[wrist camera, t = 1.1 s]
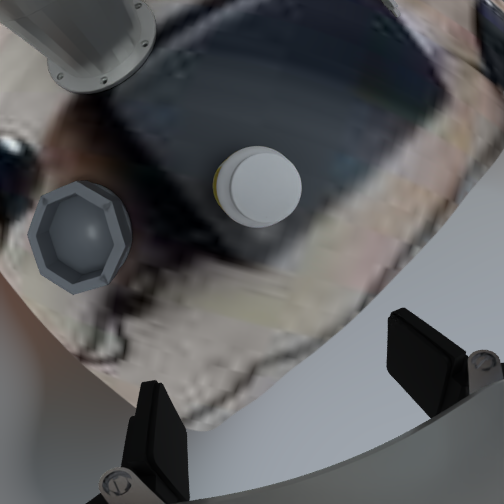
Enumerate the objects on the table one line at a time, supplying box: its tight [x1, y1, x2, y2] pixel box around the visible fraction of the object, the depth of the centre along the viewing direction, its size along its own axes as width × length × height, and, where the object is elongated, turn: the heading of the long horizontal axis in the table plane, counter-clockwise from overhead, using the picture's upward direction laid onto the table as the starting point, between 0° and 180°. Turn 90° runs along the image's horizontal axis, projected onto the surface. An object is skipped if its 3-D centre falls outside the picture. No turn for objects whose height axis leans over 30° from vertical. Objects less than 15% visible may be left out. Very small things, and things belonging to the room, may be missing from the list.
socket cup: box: [27, 181, 133, 295], centre depth 26 cm, size 10×10×4 cm
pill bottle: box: [212, 146, 302, 228], centre depth 24 cm, size 6×6×11 cm
